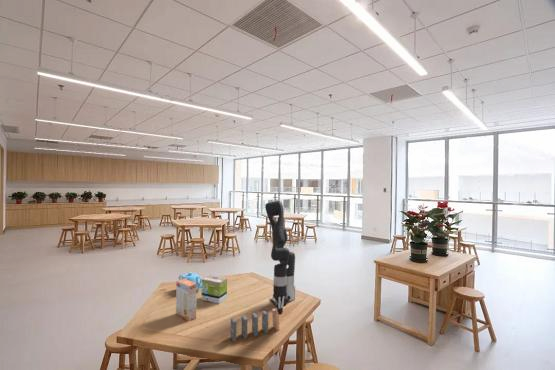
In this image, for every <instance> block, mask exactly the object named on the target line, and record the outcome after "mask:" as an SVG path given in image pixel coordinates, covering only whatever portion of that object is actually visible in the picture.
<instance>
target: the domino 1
mask: <svg viewBox="0 0 555 370" xmlns="http://www.w3.org/2000/svg"><path fill="white" fill-rule="evenodd" d="M230 338H231V341H232V342H233V343H234V342H237V320H236V318H235V317H230Z"/></svg>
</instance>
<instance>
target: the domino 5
mask: <svg viewBox="0 0 555 370" xmlns="http://www.w3.org/2000/svg"><path fill="white" fill-rule="evenodd" d="M271 316H272V326H273V328H274V329H275V330H276V331H280V317H279V314H278V311H277V308H276V307H274V308H272V309H271Z"/></svg>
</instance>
